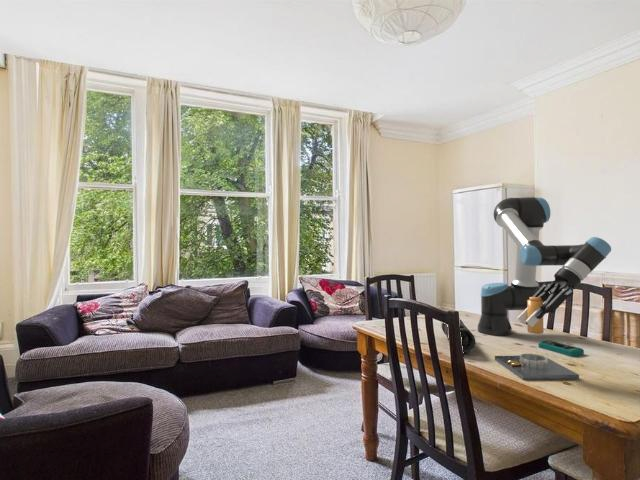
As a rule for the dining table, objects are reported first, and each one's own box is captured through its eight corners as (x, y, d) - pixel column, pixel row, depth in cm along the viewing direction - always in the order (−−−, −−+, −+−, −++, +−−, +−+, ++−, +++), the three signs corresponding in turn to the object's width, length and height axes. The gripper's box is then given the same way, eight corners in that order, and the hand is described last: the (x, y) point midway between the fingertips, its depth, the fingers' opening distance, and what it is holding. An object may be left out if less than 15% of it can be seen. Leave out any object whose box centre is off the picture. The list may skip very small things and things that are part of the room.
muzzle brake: (450, 354, 149) (450, 328, 149) (440, 336, 177) (440, 314, 177) (476, 355, 148) (476, 329, 148) (462, 337, 175) (462, 314, 175)
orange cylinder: (524, 330, 135) (524, 296, 134) (538, 330, 135) (538, 296, 135) (532, 333, 130) (532, 298, 130) (546, 333, 130) (546, 298, 130)
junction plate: (494, 359, 142) (494, 349, 142) (542, 359, 142) (542, 348, 142) (523, 379, 122) (522, 367, 122) (579, 379, 122) (578, 367, 122)
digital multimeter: (548, 346, 161) (548, 339, 161) (584, 355, 148) (584, 348, 148) (536, 348, 159) (536, 341, 159) (572, 358, 145) (572, 350, 145)
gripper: (597, 285, 123) (547, 336, 123) (562, 279, 141) (518, 324, 141) (581, 269, 123) (531, 320, 123) (548, 265, 141) (504, 309, 141)
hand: (524, 322), depth 132 cm, fingers closed on orange cylinder, 5 cm apart
